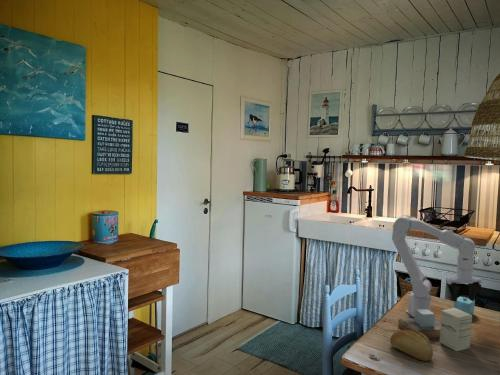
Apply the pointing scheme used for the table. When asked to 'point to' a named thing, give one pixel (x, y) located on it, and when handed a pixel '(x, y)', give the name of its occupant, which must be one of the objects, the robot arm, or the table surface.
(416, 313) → the dusty blue block
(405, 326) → the wooden tray
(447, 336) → the supplement box
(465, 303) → the light blue knobbed box
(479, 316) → the table surface
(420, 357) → the bread roll
